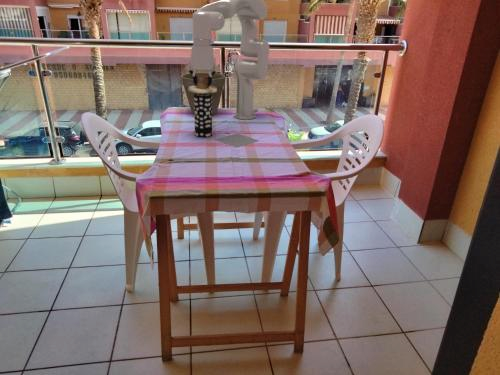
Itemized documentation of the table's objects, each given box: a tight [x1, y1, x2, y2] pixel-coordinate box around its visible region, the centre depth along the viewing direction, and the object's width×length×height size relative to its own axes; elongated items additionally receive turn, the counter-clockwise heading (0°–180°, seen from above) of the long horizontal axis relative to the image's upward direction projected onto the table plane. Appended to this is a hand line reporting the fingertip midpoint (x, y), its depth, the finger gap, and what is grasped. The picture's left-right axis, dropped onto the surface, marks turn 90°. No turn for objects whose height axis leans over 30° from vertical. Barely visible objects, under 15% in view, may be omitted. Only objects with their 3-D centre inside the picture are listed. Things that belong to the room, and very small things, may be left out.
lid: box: [188, 76, 217, 93], centre depth 169 cm, size 13×13×6 cm
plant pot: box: [180, 72, 226, 116], centre depth 214 cm, size 25×25×22 cm
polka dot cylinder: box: [193, 93, 213, 139], centre depth 175 cm, size 8×8×20 cm
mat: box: [214, 132, 260, 148], centre depth 174 cm, size 15×15×1 cm
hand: (202, 85), depth 169 cm, fingers closed on lid, 5 cm apart
